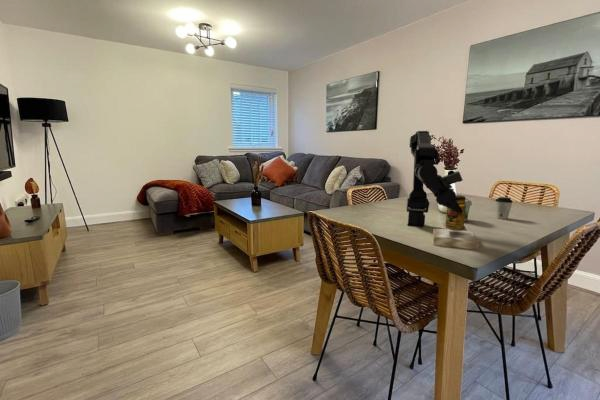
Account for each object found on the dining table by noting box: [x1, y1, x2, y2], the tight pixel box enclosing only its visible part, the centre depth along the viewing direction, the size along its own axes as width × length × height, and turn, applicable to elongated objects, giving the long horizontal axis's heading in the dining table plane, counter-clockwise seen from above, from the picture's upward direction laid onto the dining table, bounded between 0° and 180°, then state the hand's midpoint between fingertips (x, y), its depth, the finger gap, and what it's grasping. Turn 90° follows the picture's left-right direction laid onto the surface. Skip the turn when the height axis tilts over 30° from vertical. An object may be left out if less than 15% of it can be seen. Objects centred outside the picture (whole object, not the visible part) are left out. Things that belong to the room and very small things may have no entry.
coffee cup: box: [495, 196, 513, 221], centre depth 141 cm, size 7×7×10 cm
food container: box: [464, 198, 473, 223], centre depth 139 cm, size 12×6×10 cm, turn 179°
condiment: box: [442, 194, 468, 232], centre depth 108 cm, size 7×8×12 cm
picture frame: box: [432, 228, 480, 251], centre depth 109 cm, size 14×12×3 cm
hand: (461, 210), depth 106 cm, fingers closed on condiment, 6 cm apart
